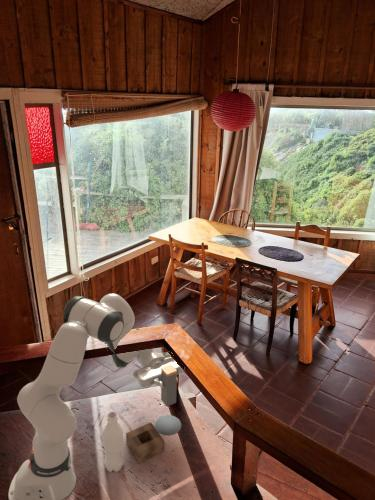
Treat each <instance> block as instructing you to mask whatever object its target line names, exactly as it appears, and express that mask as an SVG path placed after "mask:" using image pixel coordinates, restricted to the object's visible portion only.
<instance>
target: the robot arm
mask: <svg viewBox="0 0 375 500" xmlns="http://www.w3.org/2000/svg"><path fill="white" fill-rule="evenodd" d="M62 314H63V315H62V317H63V318H62V319H63V321H62V324H61V325H60V328H59V329H58V331H57V333H56V334H55V336H54V338H53V340H52V343H51V344H50V347H49V350H48V353H47V356H46V358H45V360H44V363H43V366H42V368H41V370H40V373H39V375H38V376H37V377H36V379H35V380H33V381H31V382H29V383H27V384H26V385H23V387H22V388H21V389H20V390H19V393H18V395H17V398H16V400H17V401H16V402H17V405H18V407H19V409H20V412H21V413H22V414H23V415H24V417H25V418H26V419H27V420H28V421H29V422H30V424H31V425H32V427H33V428H34V429H35V432H36V434H35V435H34V436H33V439H32V442H31V443H32V447H31V451H30V453H31V454H30V456H29V458H28V459H26V460H25V461H24V462H23V463H22V464H21V465H20V466H19V469H18V471H17V472H16V473H15V474H14V476H13V479H12V480H11V482H10V485H9V489H8V496H7V497H8V500H64V499H65V498H67V497H68V496H69V495H70V494H72V492H73V490H74V489H75V487H76V482H77V476H76V473H75V471H74V470H73V467H72V465H71V464H72V455H71V451H70V448H69V445H68V440H69V439H70V438H71V437H72V436H73V434H74V433H75V431H76V429H77V426H78V420H77V417H76V415H75V414H74V412H73V410H72V409H71V407H70V406H69V405H68V404H66V402H64V401H63V400H62V399H61V398H60V393H61V391H62V389H65V388H67V387H69V386H71V385H73V384H74V383H75V381H76V379H77V376H78V374H79V371H80V368H81V365H82V362H83V360H84V357H85V354H86V353H85V352H86V350H87V345H88V340H89V339H88V338H90V337H91V338H93V339H96V340H99V342H101V343H104V344H107V346H108V347H109V349H110V350H111V351H112V352H113V353H114V355H108V358H109V360H110V362H111V363H112V365H113V366H115V367H116V368H119V369H121V368H122V369H124V368H126V367H127V366H128V365H129V364H130V363H131V362H133V360H134V359H135V360H136V361H137V363H139V364H140V366H141V368H140V369H136V370H134V372H133V373H132V376H133V377H134V378H135V379H136V380H137V382H138V385H139V387H141V388H147V387H149V386H152V385H156V386H158V387H160V389H161V388H163V387H165V383H164V382H163V381H162V382H161V368H163V367H165V366H168V365H172V366H173V367H174V368H175V369H176V370H177V376H178V375H181V374H183V373H184V372H185V370H184V371H183V369H182V368H181V367H180V366H179V365H178V364H177V362H176V361H175V360H174V359H173V358H172V357H171V355H170V354H169V353H168V352H169V351H168V352H157V351H156V350H155V348H154V349H148V350H141V351H134V352H127V353H121V354H115V352H114V350H115V349H116V348H117V346H118V343H119V342H120V340H122V339H123V338H124V337H125V336H127V335H128V334H129V333H130V332H131V331H132V329H133V327H134V325H135V319H136V318H135V313H134V311H133V309H132V307H131V306H130V304H129V303H128V302H127V300H126V299H124V298H123V297H122V296H121V295H119V294H117V293H108V294H105V295H104V296H103V297H102V298H101V299H100V301H99V302H98V301H95V300H93V299H89V298H88V297H86V296H82V295H75V296H73V297H72V298H70V299H69V300H68V301H67V302H66V304H65V306H64V308H63V312H62ZM135 329H136V330H139V329H140V328H135ZM178 382H179V378H178V377H177V383H178Z"/></svg>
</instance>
